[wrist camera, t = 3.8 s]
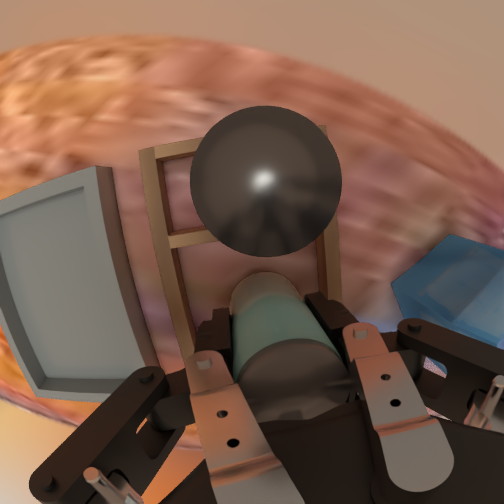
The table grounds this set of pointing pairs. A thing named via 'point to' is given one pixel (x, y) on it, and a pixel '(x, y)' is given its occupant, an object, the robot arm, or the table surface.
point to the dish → (70, 289)
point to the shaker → (283, 352)
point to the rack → (170, 240)
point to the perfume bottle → (457, 290)
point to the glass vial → (265, 181)
